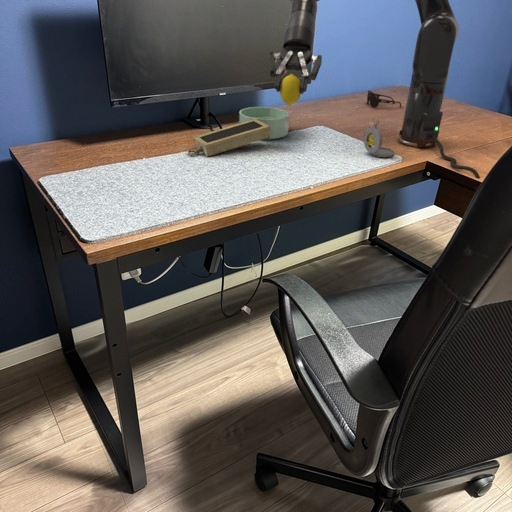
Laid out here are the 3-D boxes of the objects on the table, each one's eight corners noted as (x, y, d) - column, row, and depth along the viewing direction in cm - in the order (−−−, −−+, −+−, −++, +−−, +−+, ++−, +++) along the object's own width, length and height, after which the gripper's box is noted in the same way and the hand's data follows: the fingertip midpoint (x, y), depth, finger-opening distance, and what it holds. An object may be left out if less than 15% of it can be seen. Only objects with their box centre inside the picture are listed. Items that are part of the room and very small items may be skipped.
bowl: (296, 137, 140) (298, 116, 137) (253, 143, 134) (254, 121, 131) (271, 124, 151) (273, 105, 148) (230, 129, 145) (230, 109, 142)
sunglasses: (361, 101, 182) (365, 88, 180) (390, 105, 185) (394, 92, 183) (372, 108, 173) (376, 94, 171) (402, 113, 176) (406, 99, 174)
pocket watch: (396, 153, 131) (403, 116, 126) (387, 162, 125) (394, 123, 120) (367, 147, 134) (373, 111, 129) (356, 155, 128) (362, 117, 123)
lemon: (300, 104, 129) (302, 72, 125) (299, 109, 125) (302, 76, 121) (279, 102, 130) (281, 71, 126) (278, 108, 125) (280, 75, 121)
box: (273, 143, 130) (271, 125, 127) (196, 168, 122) (192, 149, 119) (257, 135, 136) (255, 117, 133) (184, 158, 128) (180, 140, 125)
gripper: (271, 22, 125) (260, 79, 121) (327, 26, 123) (318, 84, 119) (273, 42, 132) (263, 97, 128) (326, 46, 130) (317, 101, 126)
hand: (289, 90), depth 124 cm, fingers closed on lemon, 5 cm apart
